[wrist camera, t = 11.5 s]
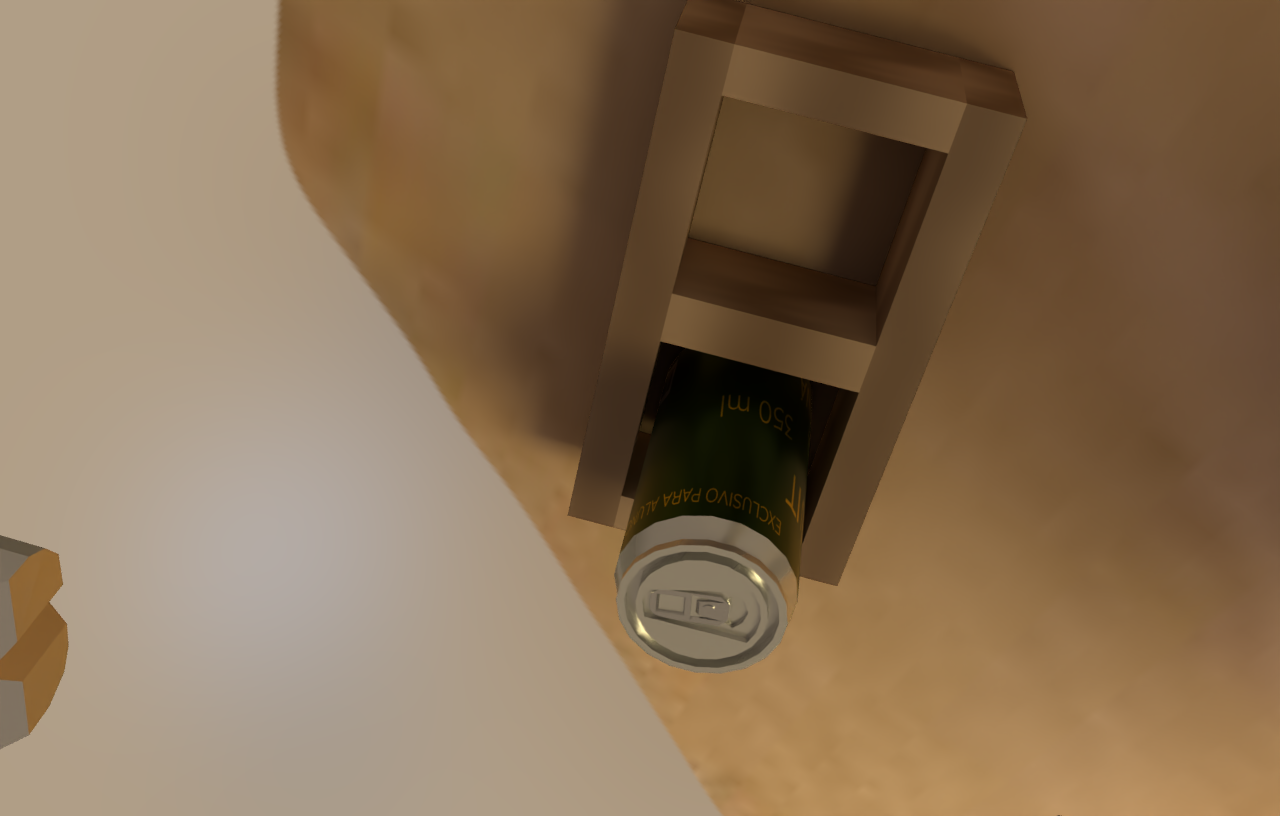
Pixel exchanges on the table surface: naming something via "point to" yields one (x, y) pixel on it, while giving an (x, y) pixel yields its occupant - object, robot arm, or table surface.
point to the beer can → (717, 516)
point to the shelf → (787, 294)
